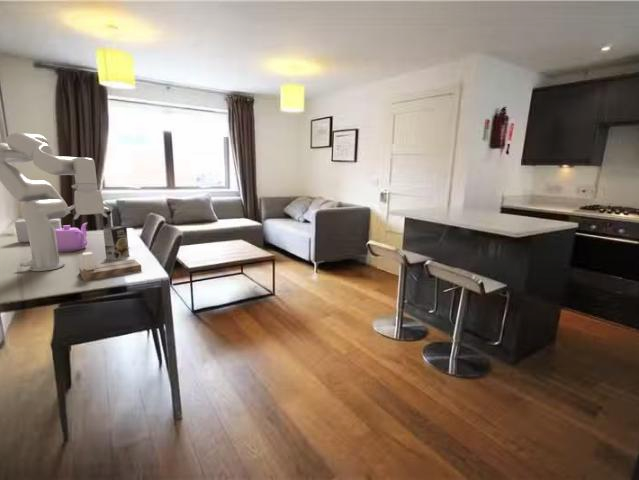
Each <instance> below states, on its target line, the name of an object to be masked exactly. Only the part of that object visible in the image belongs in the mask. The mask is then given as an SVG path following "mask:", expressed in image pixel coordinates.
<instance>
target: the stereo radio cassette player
mask: <svg viewBox="0 0 639 480" xmlns="http://www.w3.org/2000/svg"><path fill="white" fill-rule="evenodd" d="M48 221H49V222H50V223H51V225H52V226H53V227H54V229H61V228H63V226H62V222H61V221H62V219H61V218H57V219H50V220H48ZM14 227H15V233H16V237H17V241H18V242H19V243H21V242H23V243H30V241H29V235H28V230H27V225H26V222H25V220H24V219H19V220H17V221H15V222H14Z"/></svg>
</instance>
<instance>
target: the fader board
mask: <svg viewBox="0 0 639 480" xmlns="http://www.w3.org/2000/svg"><path fill="white" fill-rule="evenodd" d="M94 267H95V269H93V270H87V271H86V270H85V269H84V266H79V267H78V268H79V275H80V276H81V277H82V279H83V281H84V282H86V281H92V280H99V279H104V278H110V277H116V276H120V275H127V274H128V275H129V274H132V273H138V272H142V265H141V263H139V262H138V261H137V260H136V259H133V258H132V259H127V260H120V261H118V260H117V261H112V262H105V263H100V264H94Z"/></svg>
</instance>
